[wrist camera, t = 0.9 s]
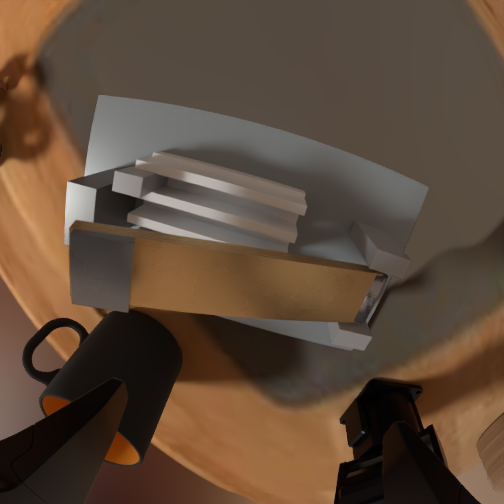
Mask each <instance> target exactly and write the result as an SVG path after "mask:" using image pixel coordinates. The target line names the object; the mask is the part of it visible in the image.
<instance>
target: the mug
mask: <svg viewBox="0 0 504 504" xmlns="http://www.w3.org/2000/svg"><path fill="white" fill-rule="evenodd" d="M59 327H70V328H72V329H74V330H75V331H76V332H77V333H78V334H79V336H80V343H79V347H78V349H77V350H76V351H75V352H74V354H73V355H72V356H71V357H70V358H69V360H68V361H67V362H66V364H65V365H64V366H63V367H62V368H61V369H56V370H54V371H51V372H42V371H38V370H36V369H35V368H34V367H33V364H32V354H33V352H34V350H35V348H36V347H37V346H38V345H39V344H40V343H41V342H42V341H43V340H44V339H45V338H46V337H47V336H48V335H49V334H50V333H51V332H52V331H53V330H54V329H56V328H59ZM22 360H23V366H24V368H25V370H26V372H27V373H28V374H29V375H30V376H31V377H32V378H33V379H35V380H37V381H39V382H41V383H43V384H45V385H46V386H47V388H46V389H45V390H44V392H43V393H42V395H41V396H40V398H39V404H40V408H41V410H42V412H43V414H44V415H45V417H47V416H49V415H50V414H52V413H54V412H56V411H57V410H59V409H61V408H62V407H64V406H66V405H67V404H69V403H71V402H72V401H74V400H76V399H77V398H79V397H81V396H82V395H84V394H86V393H87V392H89V391H91V390H92V389H94V388H96V387H97V386H99V385H101V384H102V383H104V382H105V381H107V380H109V379H110V378H113V377H114V378H118V379H120V380H123V381H124V382H125V385H126V390H127V394H128V400H127V404H126V407H125V409H124V412H123V415H122V418H121V421H120V424H119V427H118V430H117V433H116V435H115V438H114V440H113V442H112V445H111V447H110V449H109V451H108V453H107V455H106V457H105V459H104V462H107V463H109V464H113V465H116V466H121V467H137V466H139V465H140V464H141V463H142V461H143V459H144V456H145V454H146V451H147V449H148V447H149V444H150V442H151V439H152V437H153V434H154V432H155V429H156V427H157V424H158V422H159V420H160V417H161V415H162V412H163V410H164V407H165V405H166V402H167V400H168V398H169V395H170V393H171V390H172V388H173V385H174V383H175V381H176V378H177V376H178V373H179V371H180V369H181V365H182V354H181V351H180V348H179V346H178V344H177V342H176V340H175V339H174V337H173V336H172V335H171V333H170V332H169V331H168V330H167V329H166V328H165V327H164V326H162V325H161V324H160V323H159V322H157V321H156V320H154V319H153V318H151V317H149V316H147V315H145V314H143V313H140V312H137V311H132V310H129V312H128V313H127V312H120V311H113V312H110V313H109V314H107V315H106V316H105V317H104V318H103V319H102V320H101V321H100V323H99V324H98V325H97V326H96V327H95V328H94V330H93V331H92V332H91V333H90V334H88V332H87V331H86V330H85V328H84V327H83V326H82V325H81V324H79V323H78V322H76V321H74V320H72V319H69V318H58V319H54V320H51V321H49V322H48V323H46V324H45V325H44V326H43V327H42V328H41V329H40V330H39V331H38V332H37V333H36V334H35V335H34V336H33V337H32V338H31V339H30V340H29V341H28V342H27V344H26V346H25V348H24V351H23V357H22Z"/></svg>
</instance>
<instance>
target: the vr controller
mask: <svg viewBox="0 0 504 504" xmlns="http://www.w3.org/2000/svg"><path fill="white" fill-rule="evenodd" d="M0 91H1V92H2V93H5V92H7V86H6V84H4V83H2V81H0ZM1 152H2V145H0V156H1Z"/></svg>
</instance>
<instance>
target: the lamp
mask: <svg viewBox="0 0 504 504" xmlns="http://www.w3.org/2000/svg"><path fill="white" fill-rule="evenodd" d="M477 450H478V452H479V456H480V458H481V460H482V463H483V466H484V468H485V470H486V473H487V477H488V480H489V483H490V485H491V487H492V488H493V489H494V490H496V491H497V492H499V493H504V413H503V414H502V415H501V416H500V417H499V418H498V419H497V420H496V421H495V422H494V423H493V424H492V425H491V426H490V427H489V428H488V429H487V430H486V431H485V432H484V433H483V435H482V436H481V437H480V439H479V441H478V443H477Z"/></svg>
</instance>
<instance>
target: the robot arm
mask: <svg viewBox="0 0 504 504" xmlns="http://www.w3.org/2000/svg"><path fill="white" fill-rule="evenodd" d="M422 392H423V390H422V387H421V386H415V385H406V384H399V383H391V382H384V381H378V380H371V381H369V382H368V383H367V384H366V386H365V387H364V388H363V390H362V391H361V392H360V394H359V395H358V396H357V398H356V399H355V400H354V401H353V402H352V404H351V405H350V406H349V408H348V409H347V410H346V411H345V412H344V414H343V415H342V416H341V418H340V423H341V424H344V425H346V432H347V440H348V445H349V447H352V448H353V455H354V460H352V461H349V462H344V463H341V464H340V466H339V472H338V479H337V486H336V493H335V500H334V504H481V503H480V502H478V501H477V500H476V499H475V498H474V497H473V496H472V495H471V494H470V493H469V491H468V490H467V489H465V487H464V486H463V485H462V484H461V483H460V482H459V481H458V479H457V478H456V477H455V476H454V475H453V474H452V473H451V471H450V470H449V468H448V464H447V460H446V457H445V454H444V451H443V448H442V445H441V442H440V440H439V438H438V435H437V433H436V431H435V429H434V426H433V424H431V425H429V426H428V427H427V428H426V429H424V428H423V425H422V422H421V419H420V416H419V413H418V410H417V407H416V405H415V402H414V401H415V400H416V399H417V398H418V397H419V396H420V394H421V393H422ZM127 400H128V394H127V390H126V385H125V382H124V381H123V380H120V379H118V378H114V377H113V378H110V379H109V380H107V381H105V382H104V383H102V384H101V385H99V386H97V387H96V388H94V389H92V390H91V391H89V392H87V393H86V394H84V395H82V396H81V397H79V398H77V399H76V400H74V401H72V402H71V403H69V404H67V405H66V406H64V407H62V408H61V409H59V410H57V411H56V412H54V413H52V414H50V415H49V416H47V417H45V418H44V419H42V420H40V421H38V422H37V423H35V424H34V425H31V426H30V427H28V428H26V429H24V430H22V431H21V432H18V433H17V434H15V435H12V436H10V437H8V438H6V439H3V440H1V441H0V504H84V502H85V500H86V498H87V495H88V493H89V491H90V489H91V487H92V485H93V482H94V480H95V478H96V476H97V474H98V472H99V469H100V467H101V465H102V463H103V461H104V459H105V457H106V455H107V453H108V451H109V449H110V447H111V445H112V442H113V440H114V438H115V435H116V433H117V430H118V427H119V424H120V421H121V418H122V415H123V412H124V409H125V407H126V404H127Z"/></svg>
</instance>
